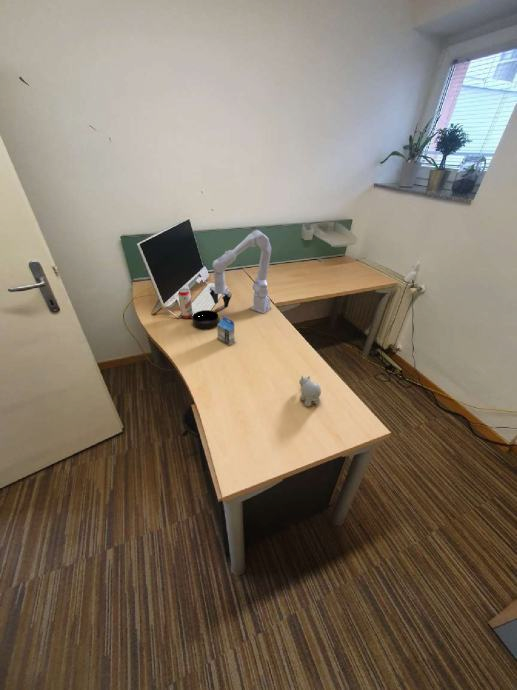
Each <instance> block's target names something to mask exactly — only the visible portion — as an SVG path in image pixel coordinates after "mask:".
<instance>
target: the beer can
mask: <svg viewBox="0 0 517 690" xmlns="http://www.w3.org/2000/svg"><path fill="white" fill-rule="evenodd" d="M177 295H178V302H179V307H180V309H179V310H180V314H181V318H183V319H187V320H188V319H192V315H194V313H193V303H192V298H191V297H192V296H191V292H190V290H189V288H180V289H178V293H177Z"/></svg>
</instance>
